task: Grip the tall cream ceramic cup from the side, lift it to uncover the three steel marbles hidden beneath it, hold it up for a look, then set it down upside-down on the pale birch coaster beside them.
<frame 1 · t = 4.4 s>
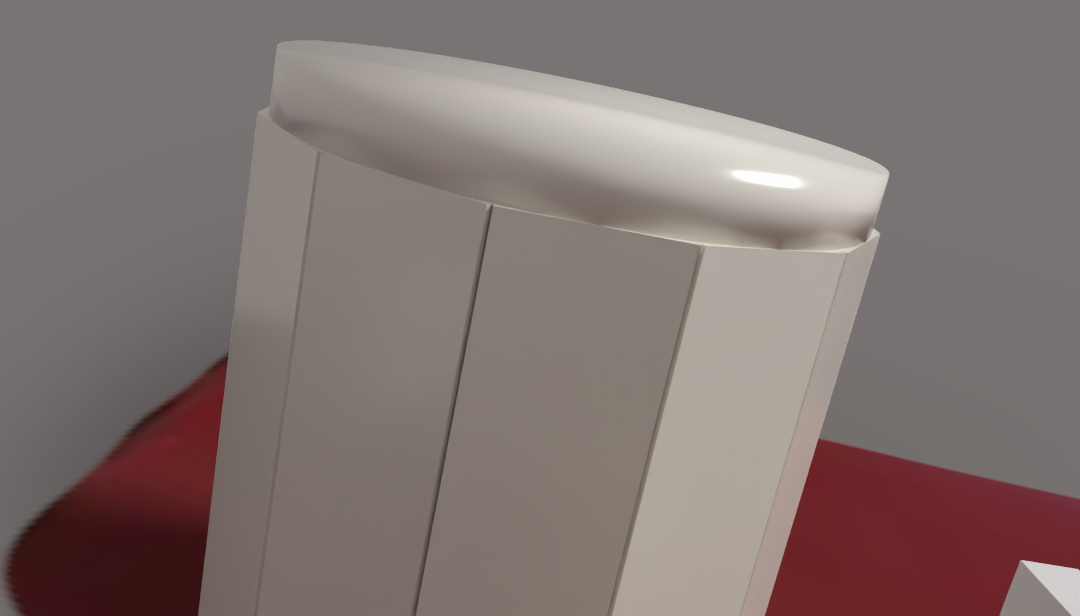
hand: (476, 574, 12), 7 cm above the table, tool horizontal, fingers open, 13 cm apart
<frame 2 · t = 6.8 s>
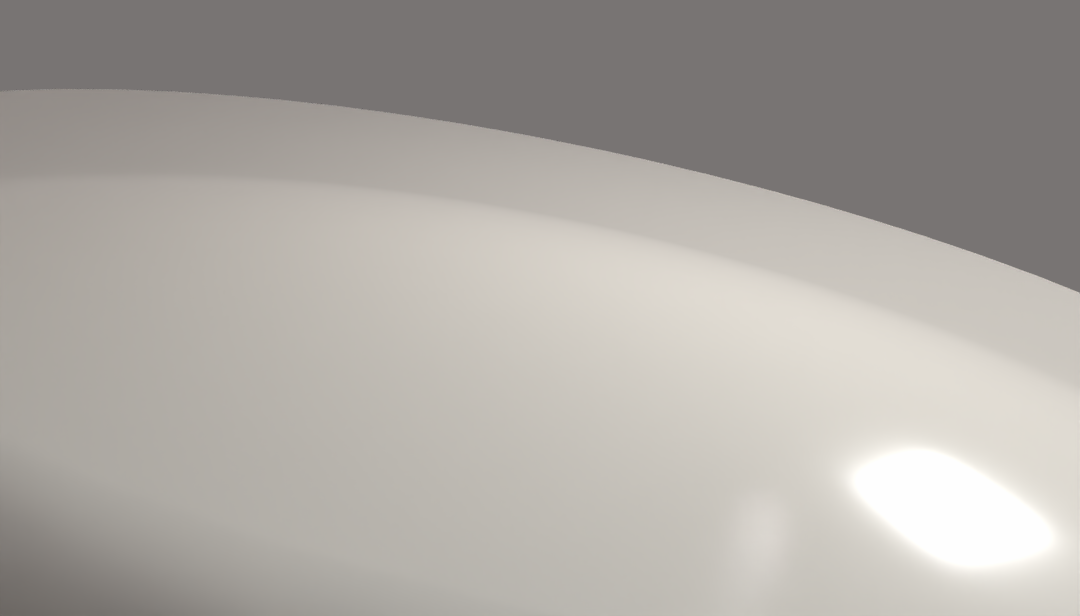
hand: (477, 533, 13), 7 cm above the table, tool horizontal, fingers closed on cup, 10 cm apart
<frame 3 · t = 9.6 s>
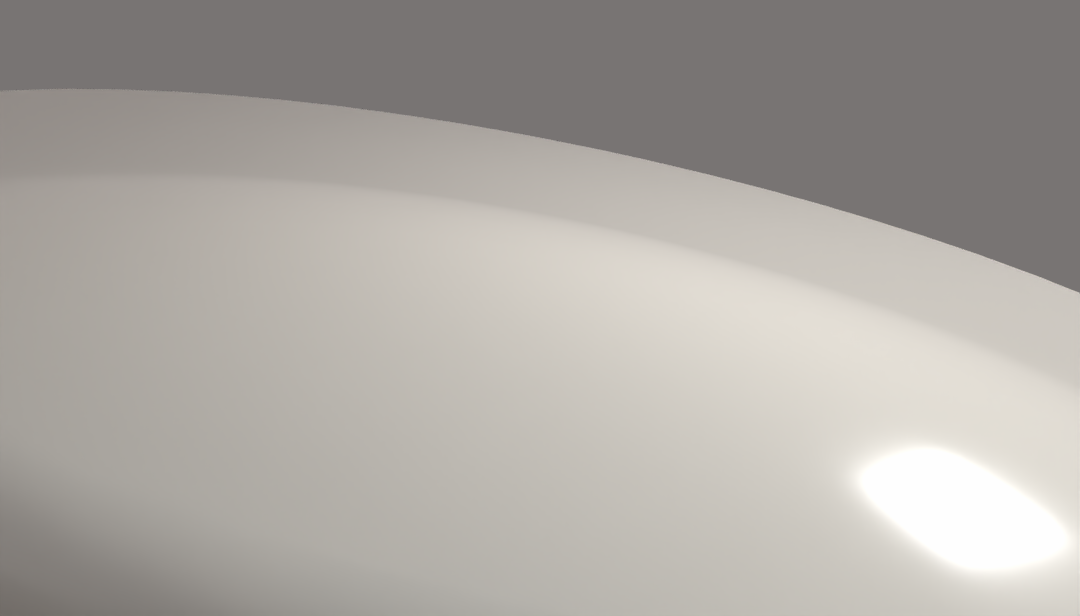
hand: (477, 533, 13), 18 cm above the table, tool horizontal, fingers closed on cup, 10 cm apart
when the fingers open (9 cm above the table, at t = 12.9 s): cup drops 1 cm, resting on coaster.
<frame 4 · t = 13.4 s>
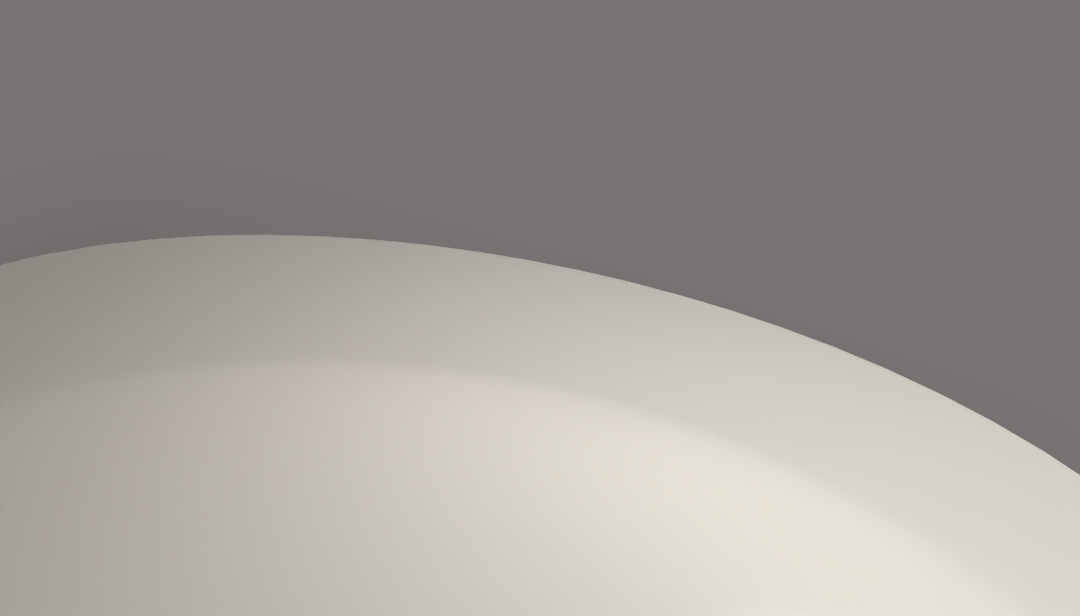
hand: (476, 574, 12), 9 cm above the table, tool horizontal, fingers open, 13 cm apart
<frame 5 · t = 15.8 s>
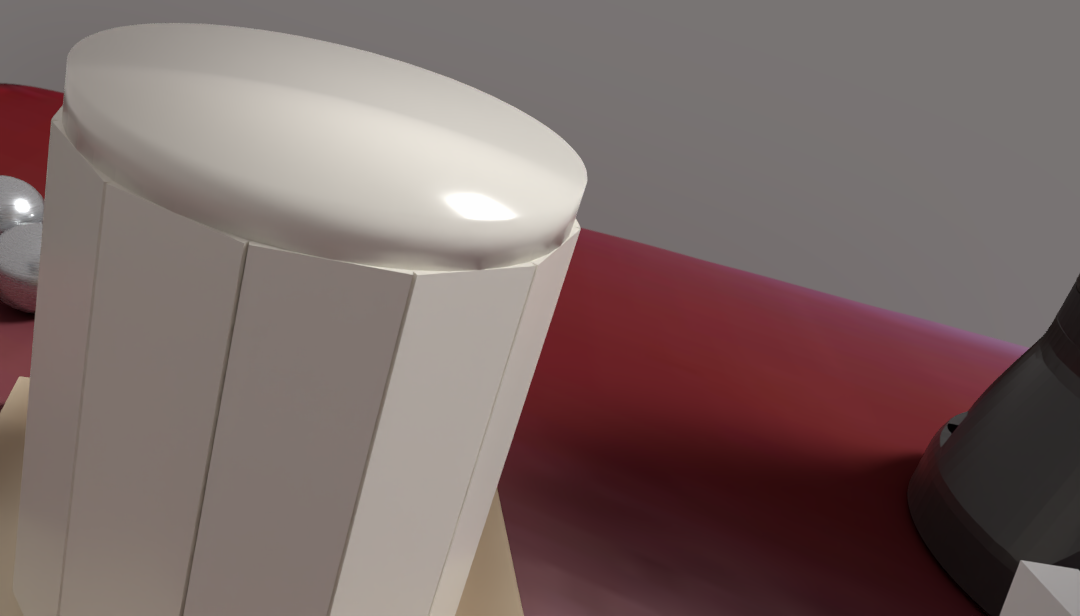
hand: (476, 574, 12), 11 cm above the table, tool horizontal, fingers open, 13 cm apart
marble 1: (33, 307, 35), on the table
coaster: (242, 599, 26), on the table
marble 3: (0, 255, 37), on the table
cup: (248, 570, 25), point 1 cm above the table, touching coaster
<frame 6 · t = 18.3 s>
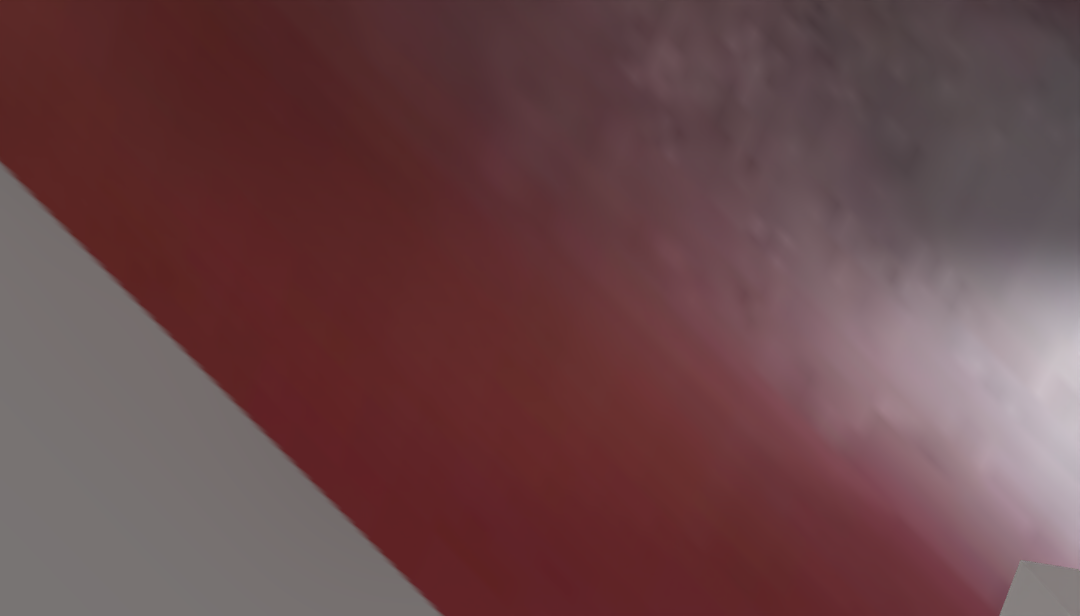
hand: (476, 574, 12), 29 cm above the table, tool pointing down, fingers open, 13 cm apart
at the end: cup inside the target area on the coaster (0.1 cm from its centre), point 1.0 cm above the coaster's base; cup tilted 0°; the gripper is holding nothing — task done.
